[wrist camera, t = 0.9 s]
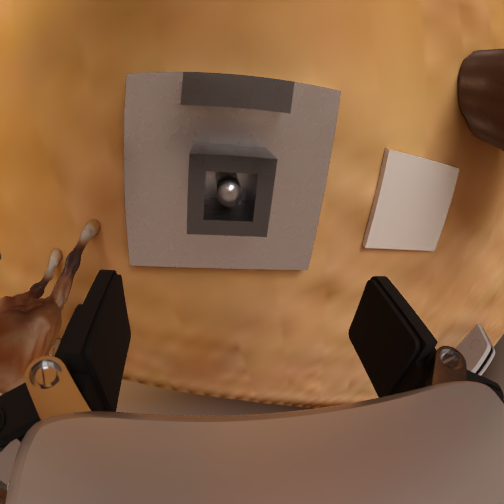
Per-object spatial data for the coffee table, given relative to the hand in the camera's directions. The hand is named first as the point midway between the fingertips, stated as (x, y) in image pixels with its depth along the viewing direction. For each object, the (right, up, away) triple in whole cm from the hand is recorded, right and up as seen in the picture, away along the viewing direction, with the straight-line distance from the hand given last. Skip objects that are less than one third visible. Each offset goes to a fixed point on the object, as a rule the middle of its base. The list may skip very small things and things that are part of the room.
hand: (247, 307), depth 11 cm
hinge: (+41, -19, +38) cm, 59 cm away
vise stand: (-2, +9, +16) cm, 18 cm away
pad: (+18, +7, +20) cm, 28 cm away
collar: (-2, +8, +15) cm, 17 cm away
